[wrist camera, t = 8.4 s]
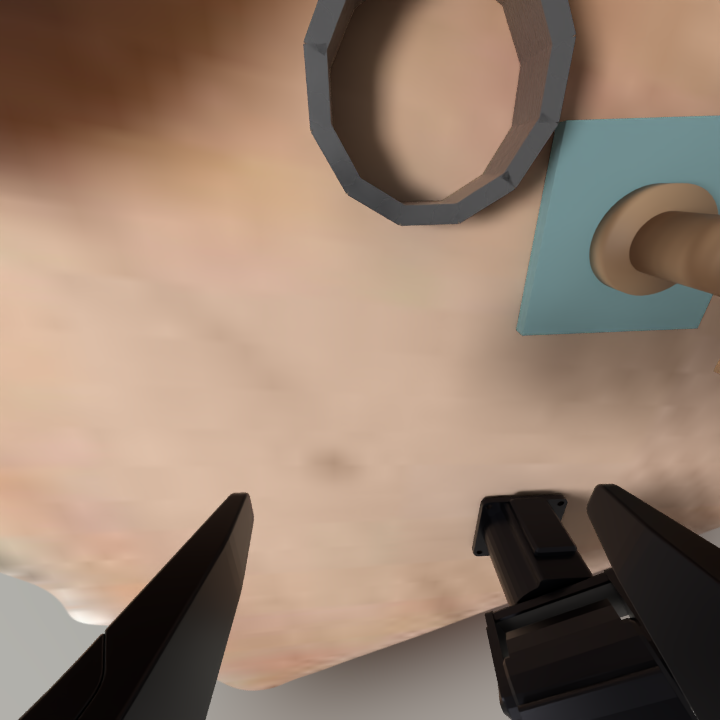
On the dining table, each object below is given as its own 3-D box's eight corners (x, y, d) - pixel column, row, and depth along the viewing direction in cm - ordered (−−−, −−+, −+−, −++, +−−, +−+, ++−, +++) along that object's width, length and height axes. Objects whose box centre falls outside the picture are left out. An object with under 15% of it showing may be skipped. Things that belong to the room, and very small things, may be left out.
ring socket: (514, 215, 17) (539, 220, 15) (322, 222, 17) (318, 228, 15) (560, -65, 13) (606, -118, 10) (300, -59, 12) (290, -112, 10)
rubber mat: (685, 323, 20) (697, 328, 19) (516, 330, 20) (522, 335, 19) (775, 116, 15) (795, 113, 15) (556, 123, 15) (566, 120, 15)
